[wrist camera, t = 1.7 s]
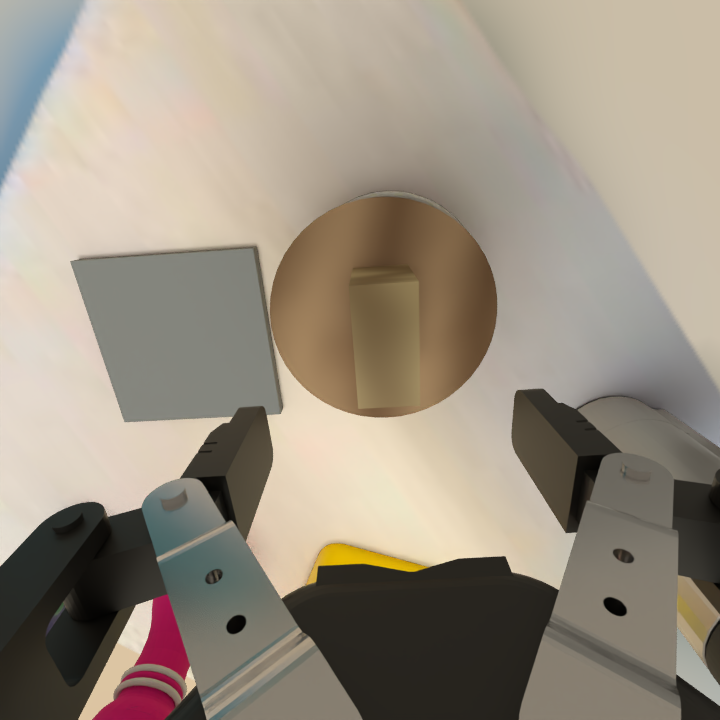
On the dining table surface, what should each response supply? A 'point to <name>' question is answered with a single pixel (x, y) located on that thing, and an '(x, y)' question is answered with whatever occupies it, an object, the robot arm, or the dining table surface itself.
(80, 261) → the mat
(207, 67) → the dining table surface
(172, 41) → the dining table surface
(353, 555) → the element tile
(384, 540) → the dining table surface
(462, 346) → the lid
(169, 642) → the pepper mill
